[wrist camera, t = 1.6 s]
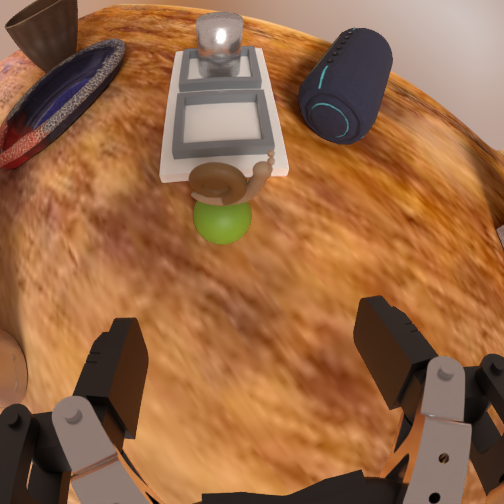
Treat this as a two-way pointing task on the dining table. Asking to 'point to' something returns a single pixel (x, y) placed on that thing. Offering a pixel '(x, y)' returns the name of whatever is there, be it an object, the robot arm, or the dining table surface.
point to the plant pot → (46, 31)
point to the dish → (58, 101)
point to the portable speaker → (347, 86)
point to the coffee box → (501, 234)
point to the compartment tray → (220, 118)
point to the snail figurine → (225, 198)
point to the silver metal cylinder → (219, 44)
